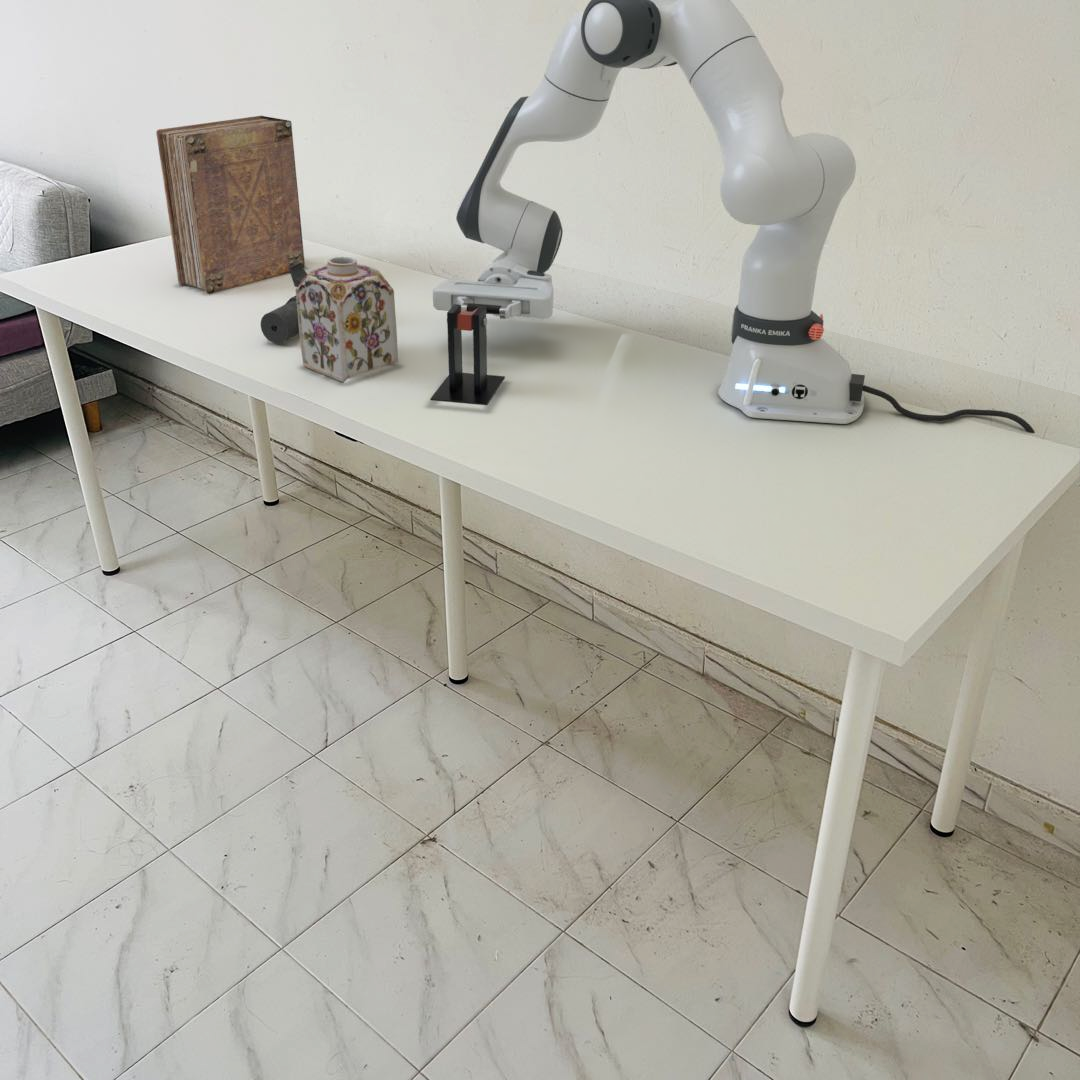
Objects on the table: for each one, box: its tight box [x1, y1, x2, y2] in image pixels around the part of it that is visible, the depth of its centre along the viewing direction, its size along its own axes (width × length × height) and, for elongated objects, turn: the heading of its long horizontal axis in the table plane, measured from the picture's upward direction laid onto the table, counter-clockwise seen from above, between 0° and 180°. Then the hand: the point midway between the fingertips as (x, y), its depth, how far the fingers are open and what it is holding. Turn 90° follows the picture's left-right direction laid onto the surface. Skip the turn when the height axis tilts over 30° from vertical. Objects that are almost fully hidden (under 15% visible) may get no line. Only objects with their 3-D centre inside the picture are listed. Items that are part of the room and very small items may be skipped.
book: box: [155, 115, 306, 295], centre depth 220 cm, size 25×9×30 cm, turn 141°
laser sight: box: [260, 262, 308, 345], centre depth 198 cm, size 10×22×10 cm, turn 158°
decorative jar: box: [295, 256, 399, 383], centre depth 178 cm, size 12×12×18 cm
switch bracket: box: [429, 304, 506, 406], centre depth 169 cm, size 12×9×14 cm
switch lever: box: [458, 303, 501, 332], centre depth 171 cm, size 13×6×2 cm, turn 168°
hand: (483, 312), depth 176 cm, fingers closed on switch lever, 5 cm apart
